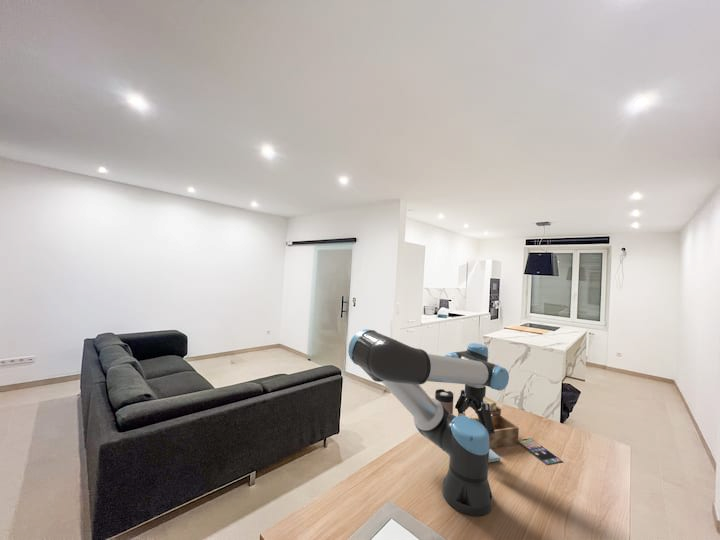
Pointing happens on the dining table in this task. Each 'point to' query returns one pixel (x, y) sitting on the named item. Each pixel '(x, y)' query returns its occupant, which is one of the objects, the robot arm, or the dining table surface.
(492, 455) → the lid
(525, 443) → the smartphone
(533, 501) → the dining table surface
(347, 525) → the dining table surface
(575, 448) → the dining table surface
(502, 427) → the open wooden box
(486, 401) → the beige rectangular block
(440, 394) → the travel mug
